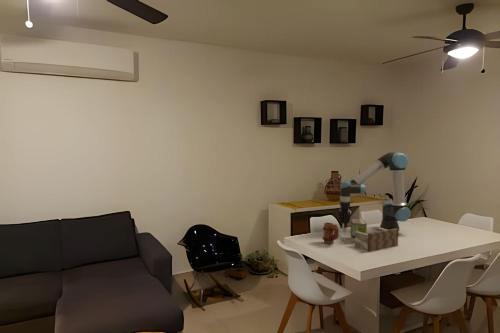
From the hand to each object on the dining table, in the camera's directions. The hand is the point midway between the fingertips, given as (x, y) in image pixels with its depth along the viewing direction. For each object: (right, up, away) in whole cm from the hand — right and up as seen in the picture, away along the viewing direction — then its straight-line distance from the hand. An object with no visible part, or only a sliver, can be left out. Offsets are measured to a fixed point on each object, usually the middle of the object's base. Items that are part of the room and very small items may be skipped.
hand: (344, 231), depth 270 cm
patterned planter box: (+15, -5, -26) cm, 31 cm away
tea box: (+7, -5, -12) cm, 15 cm away
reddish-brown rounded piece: (-15, -5, -21) cm, 27 cm away
